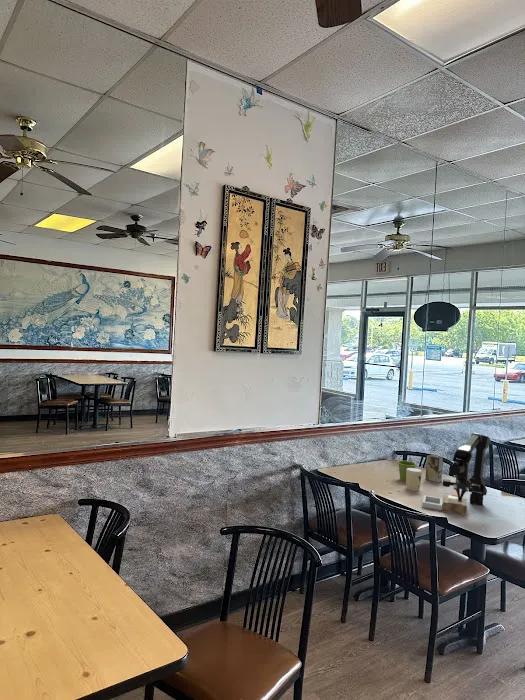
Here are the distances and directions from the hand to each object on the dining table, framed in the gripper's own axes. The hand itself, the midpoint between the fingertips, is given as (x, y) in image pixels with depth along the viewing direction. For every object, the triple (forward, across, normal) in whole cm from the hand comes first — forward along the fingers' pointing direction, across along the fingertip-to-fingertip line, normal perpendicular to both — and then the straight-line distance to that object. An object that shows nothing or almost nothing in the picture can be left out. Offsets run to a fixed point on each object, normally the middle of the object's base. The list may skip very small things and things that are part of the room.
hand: (459, 501), depth 264 cm
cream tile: (+1, -4, 0) cm, 4 cm away
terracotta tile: (+1, -1, +7) cm, 7 cm away
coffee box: (+6, -15, +61) cm, 63 cm away
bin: (+6, -14, +4) cm, 16 cm away
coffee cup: (+6, -26, +31) cm, 41 cm away
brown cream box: (+6, -2, +4) cm, 7 cm away
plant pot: (+6, -32, +50) cm, 60 cm away
